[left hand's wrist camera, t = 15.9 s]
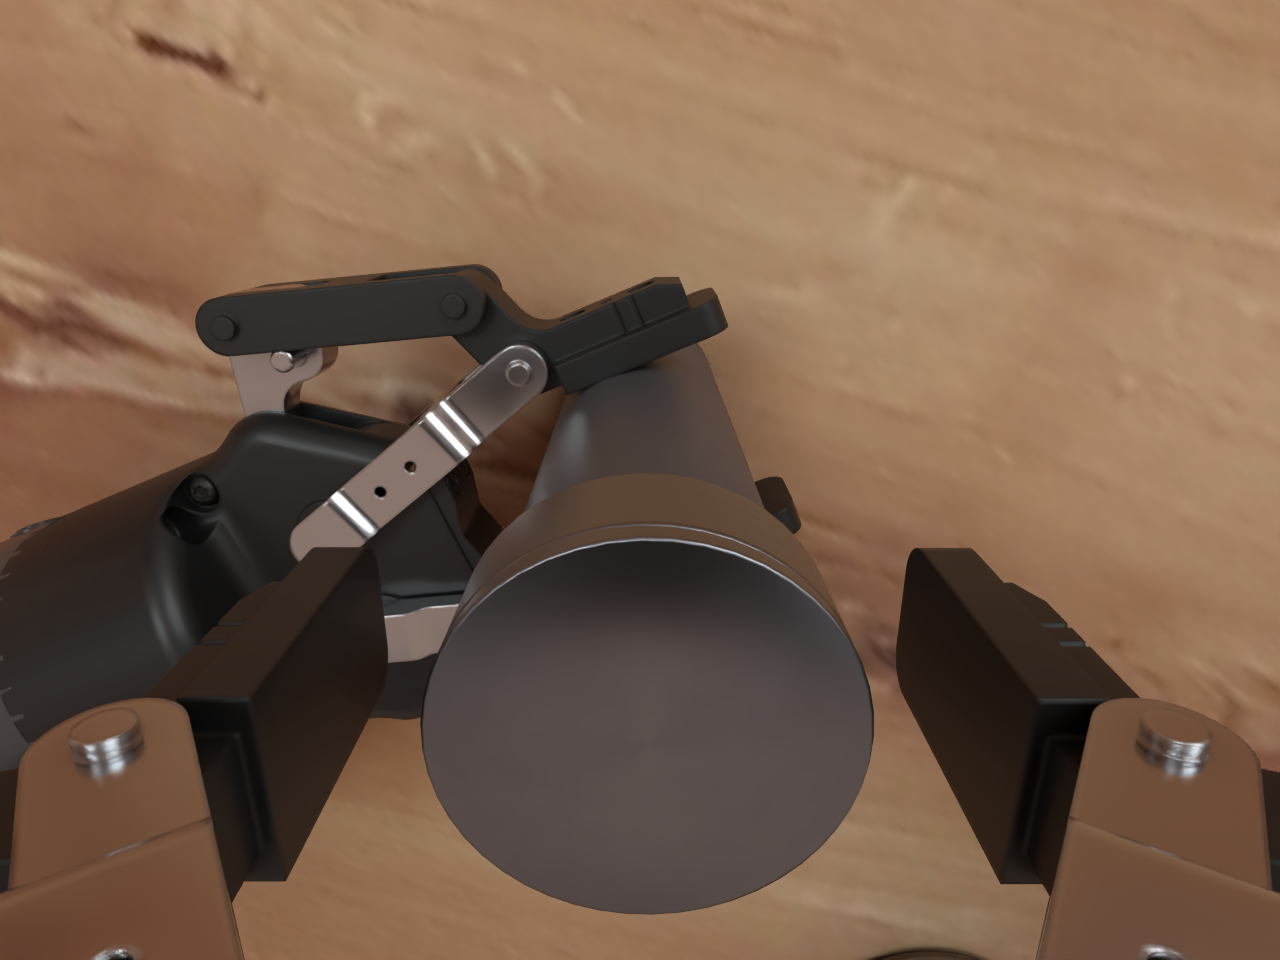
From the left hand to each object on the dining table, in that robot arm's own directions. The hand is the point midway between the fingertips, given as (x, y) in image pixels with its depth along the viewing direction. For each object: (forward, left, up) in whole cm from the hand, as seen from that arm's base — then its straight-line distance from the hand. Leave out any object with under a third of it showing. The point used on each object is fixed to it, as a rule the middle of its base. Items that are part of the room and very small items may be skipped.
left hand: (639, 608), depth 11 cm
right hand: (0, -3, -8) cm, 8 cm away
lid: (0, 0, +2) cm, 2 cm away
